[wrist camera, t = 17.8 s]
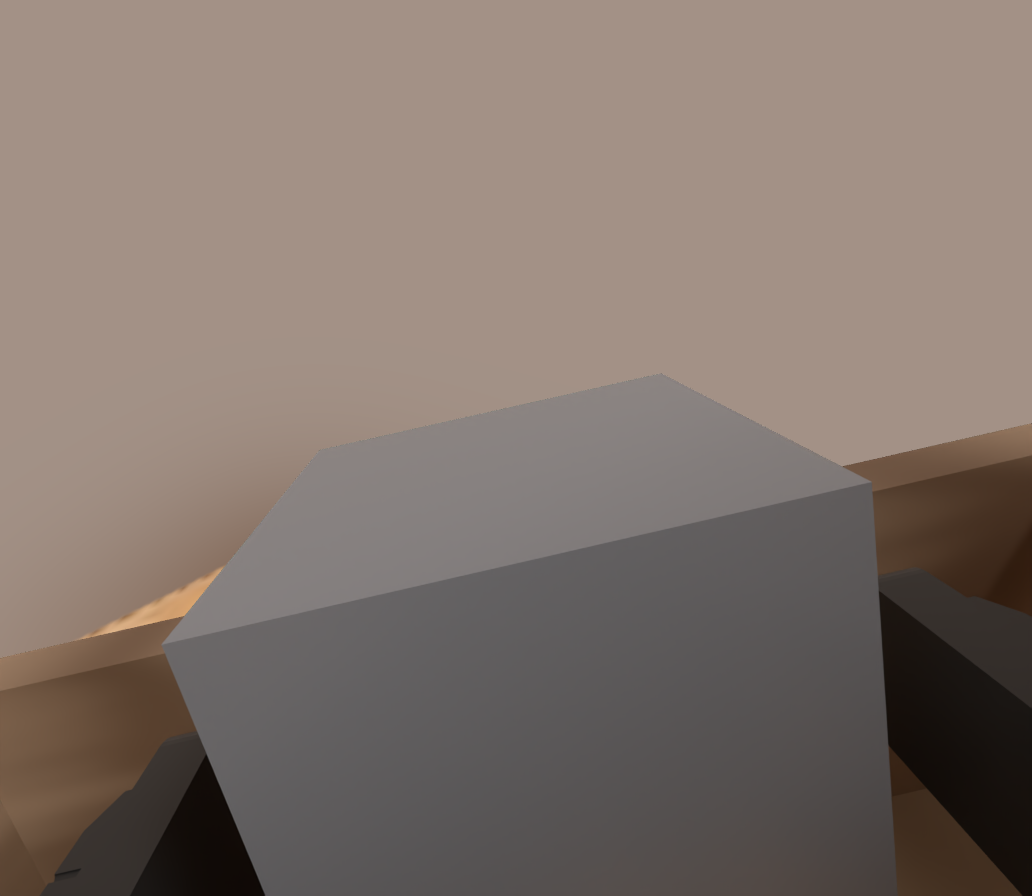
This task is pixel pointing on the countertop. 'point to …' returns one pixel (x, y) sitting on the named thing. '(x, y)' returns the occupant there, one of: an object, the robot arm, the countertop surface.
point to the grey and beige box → (555, 662)
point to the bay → (163, 714)
